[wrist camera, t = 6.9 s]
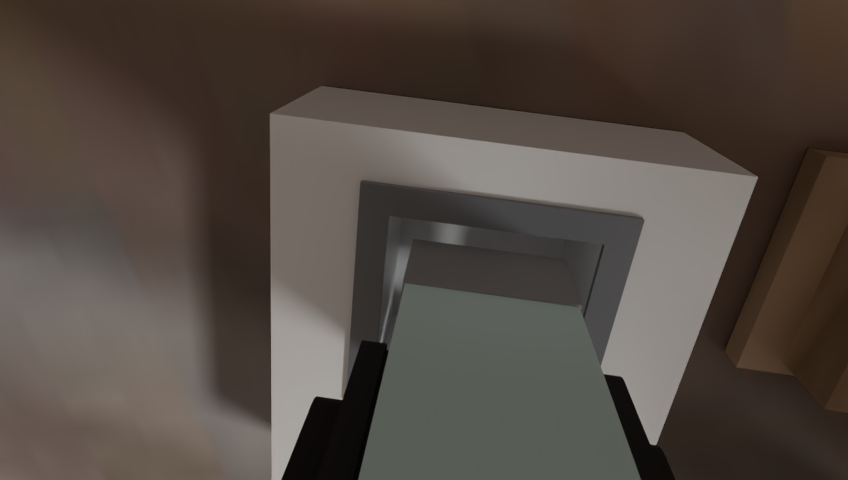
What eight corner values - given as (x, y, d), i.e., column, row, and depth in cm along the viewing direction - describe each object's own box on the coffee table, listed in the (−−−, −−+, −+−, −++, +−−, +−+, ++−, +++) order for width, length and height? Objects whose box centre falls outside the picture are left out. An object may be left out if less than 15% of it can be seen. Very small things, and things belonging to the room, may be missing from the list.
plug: (565, 259, 14) (729, 707, 5) (535, 382, 16) (619, 883, 7) (413, 238, 14) (314, 642, 5) (399, 362, 16) (305, 830, 7)
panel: (684, 132, 18) (761, 179, 13) (573, 486, 24) (598, 604, 19) (321, 85, 18) (266, 114, 13) (309, 446, 24) (270, 553, 20)
